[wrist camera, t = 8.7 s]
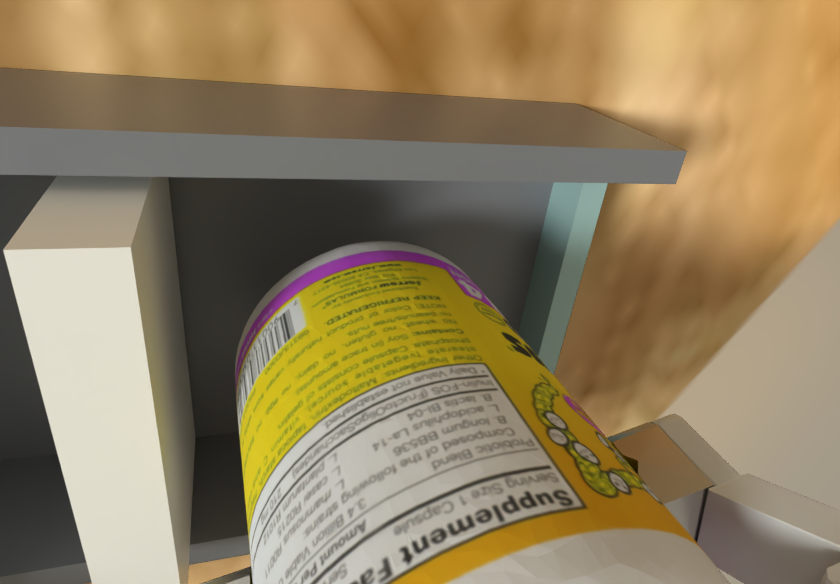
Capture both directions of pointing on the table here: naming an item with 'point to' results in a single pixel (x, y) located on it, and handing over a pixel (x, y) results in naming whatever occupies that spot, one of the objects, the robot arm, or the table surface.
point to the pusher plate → (112, 368)
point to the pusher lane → (289, 237)
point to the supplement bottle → (428, 442)
